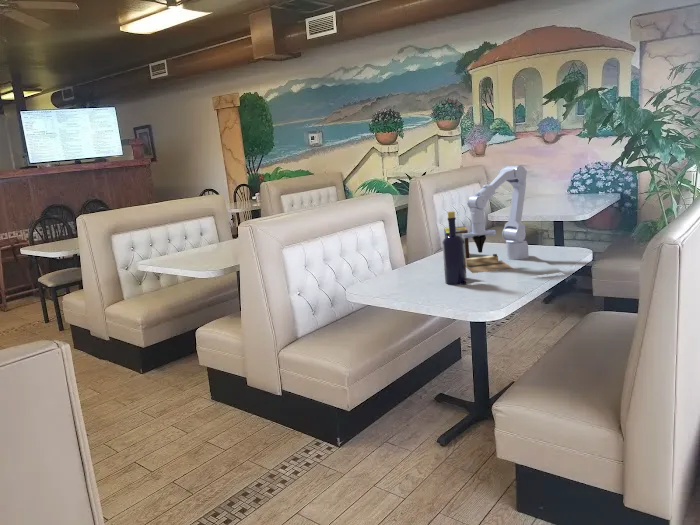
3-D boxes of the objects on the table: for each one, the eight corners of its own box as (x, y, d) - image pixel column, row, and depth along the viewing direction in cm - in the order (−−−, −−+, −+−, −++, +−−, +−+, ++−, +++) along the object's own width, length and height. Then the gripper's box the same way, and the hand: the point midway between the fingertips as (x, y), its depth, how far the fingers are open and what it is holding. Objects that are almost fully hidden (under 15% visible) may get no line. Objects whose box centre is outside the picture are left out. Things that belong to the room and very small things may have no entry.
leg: (496, 261, 260) (496, 253, 259) (498, 262, 257) (497, 254, 256) (465, 264, 260) (464, 256, 259) (466, 266, 257) (466, 258, 256)
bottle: (467, 284, 232) (462, 212, 225) (444, 285, 234) (439, 214, 227) (467, 279, 240) (462, 209, 234) (445, 280, 242) (440, 211, 236)
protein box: (466, 255, 286) (464, 225, 283) (470, 262, 271) (468, 230, 268) (446, 257, 287) (443, 227, 284) (448, 264, 272) (445, 232, 269)
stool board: (501, 262, 263) (501, 260, 262) (513, 271, 245) (513, 268, 245) (463, 267, 262) (463, 264, 262) (472, 275, 245) (472, 272, 245)
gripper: (492, 219, 254) (494, 248, 257) (460, 223, 254) (462, 252, 257) (496, 221, 247) (497, 251, 250) (463, 225, 247) (465, 255, 250)
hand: (480, 252), depth 253 cm, fingers closed
